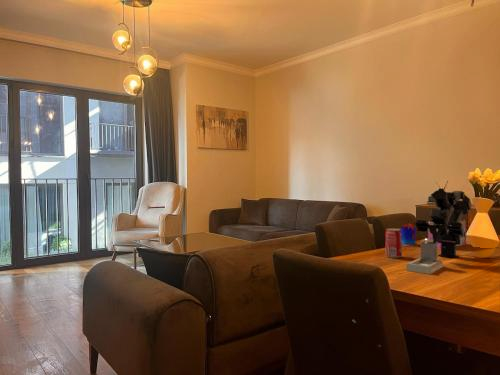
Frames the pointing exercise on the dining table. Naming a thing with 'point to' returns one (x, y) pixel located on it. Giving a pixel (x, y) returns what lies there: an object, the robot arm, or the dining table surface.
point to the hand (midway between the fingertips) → (434, 242)
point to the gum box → (462, 241)
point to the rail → (424, 266)
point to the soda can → (393, 243)
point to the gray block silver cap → (428, 251)
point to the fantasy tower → (408, 236)
